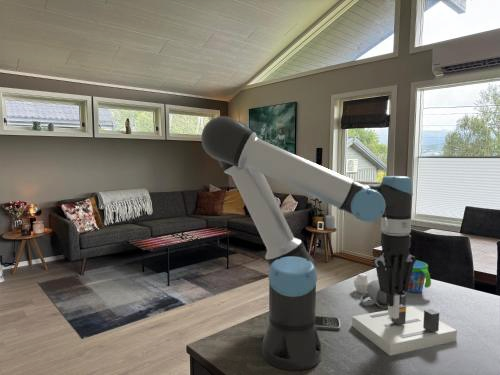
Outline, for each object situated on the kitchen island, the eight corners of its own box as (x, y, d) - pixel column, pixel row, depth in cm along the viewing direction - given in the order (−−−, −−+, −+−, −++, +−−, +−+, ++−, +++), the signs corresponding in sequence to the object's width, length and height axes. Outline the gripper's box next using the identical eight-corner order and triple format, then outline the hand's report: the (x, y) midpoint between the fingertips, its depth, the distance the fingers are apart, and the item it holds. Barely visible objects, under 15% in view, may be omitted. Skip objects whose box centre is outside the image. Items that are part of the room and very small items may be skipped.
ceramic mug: (384, 297, 122) (384, 276, 122) (397, 307, 114) (397, 285, 114) (356, 300, 121) (356, 278, 120) (366, 310, 113) (367, 287, 112)
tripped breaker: (397, 325, 95) (398, 308, 95) (391, 321, 98) (391, 304, 98) (405, 324, 96) (406, 306, 96) (398, 319, 99) (399, 302, 98)
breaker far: (398, 313, 103) (399, 296, 102) (392, 309, 105) (392, 293, 105) (405, 311, 104) (405, 295, 103) (398, 308, 106) (399, 292, 106)
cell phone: (341, 332, 99) (341, 327, 99) (302, 329, 101) (302, 324, 101) (339, 322, 105) (339, 317, 105) (302, 319, 107) (302, 314, 107)
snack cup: (386, 283, 137) (387, 258, 136) (409, 281, 139) (410, 256, 138) (413, 299, 121) (414, 271, 120) (438, 296, 124) (440, 268, 123)
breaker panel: (390, 355, 87) (390, 343, 87) (352, 326, 102) (352, 316, 102) (456, 340, 94) (456, 330, 94) (411, 315, 109) (411, 305, 109)
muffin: (365, 296, 124) (365, 277, 123) (349, 291, 128) (350, 273, 127) (373, 292, 128) (374, 273, 127) (359, 287, 132) (359, 269, 132)
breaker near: (431, 332, 92) (432, 314, 91) (423, 327, 94) (424, 310, 94) (438, 331, 92) (439, 313, 92) (430, 326, 95) (431, 309, 94)
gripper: (385, 237, 88) (382, 326, 91) (425, 233, 92) (422, 318, 95) (366, 231, 96) (365, 314, 98) (404, 228, 100) (402, 307, 102)
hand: (393, 316), depth 96 cm, fingers closed
